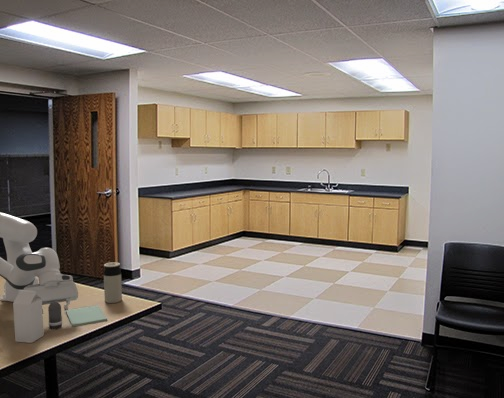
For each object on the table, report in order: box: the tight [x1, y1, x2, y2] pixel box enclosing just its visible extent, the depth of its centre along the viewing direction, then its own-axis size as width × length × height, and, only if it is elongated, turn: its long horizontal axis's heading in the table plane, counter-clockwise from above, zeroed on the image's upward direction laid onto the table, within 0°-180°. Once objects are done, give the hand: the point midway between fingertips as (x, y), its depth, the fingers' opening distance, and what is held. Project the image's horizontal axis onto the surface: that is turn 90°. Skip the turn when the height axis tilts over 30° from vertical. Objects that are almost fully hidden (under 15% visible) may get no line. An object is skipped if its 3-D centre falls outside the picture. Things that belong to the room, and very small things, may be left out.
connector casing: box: [47, 302, 63, 330], centre depth 187 cm, size 5×5×10 cm
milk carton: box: [12, 290, 45, 344], centre depth 175 cm, size 7×7×19 cm
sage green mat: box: [65, 304, 108, 327], centre depth 200 cm, size 20×14×1 cm
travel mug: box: [103, 261, 123, 304], centre depth 220 cm, size 8×8×18 cm
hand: (54, 311), depth 187 cm, fingers open, 8 cm apart
